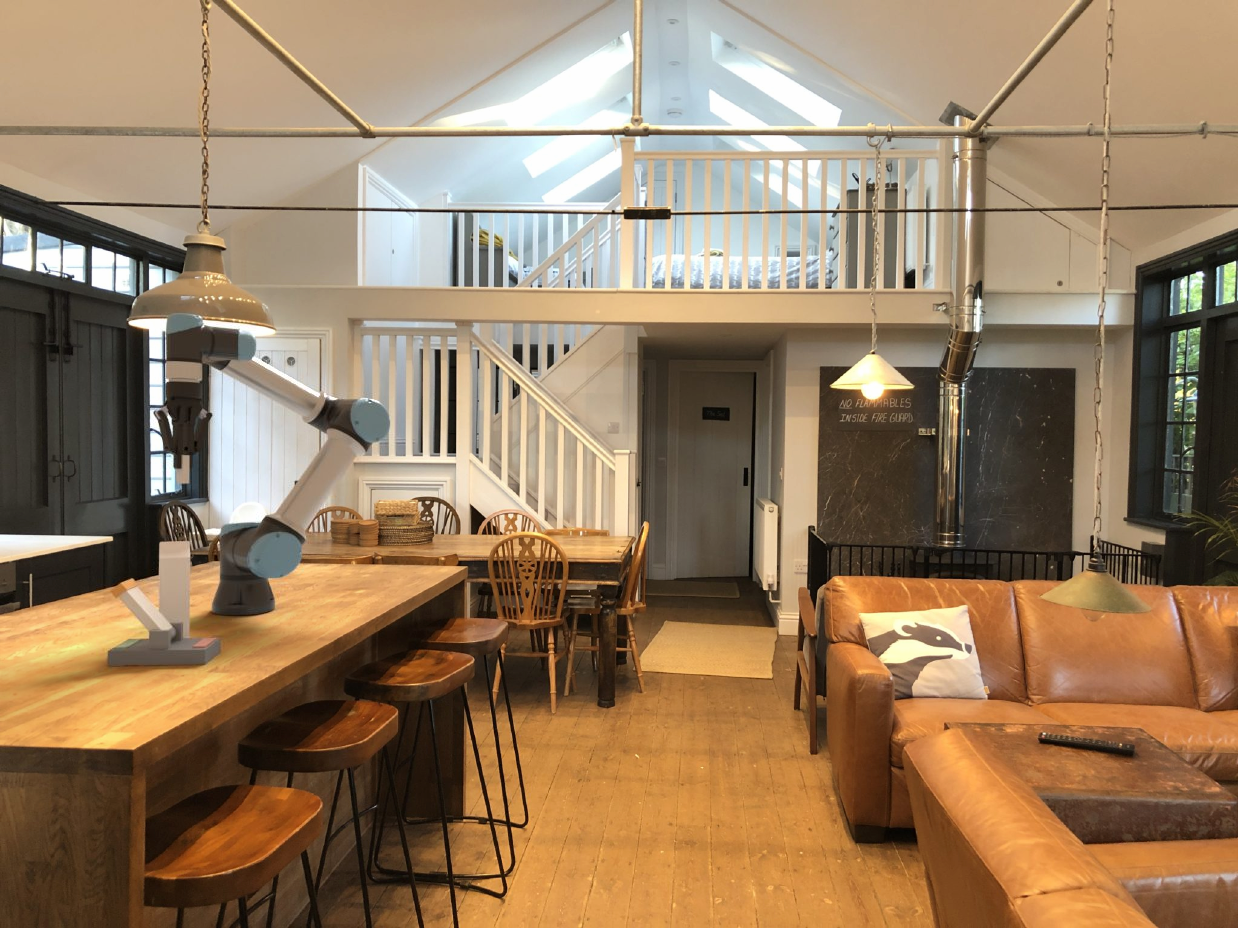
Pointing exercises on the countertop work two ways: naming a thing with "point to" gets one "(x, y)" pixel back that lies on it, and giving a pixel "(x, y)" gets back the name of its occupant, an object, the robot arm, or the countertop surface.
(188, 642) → the switch plate
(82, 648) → the countertop surface
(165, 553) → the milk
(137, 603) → the handle
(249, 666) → the countertop surface
